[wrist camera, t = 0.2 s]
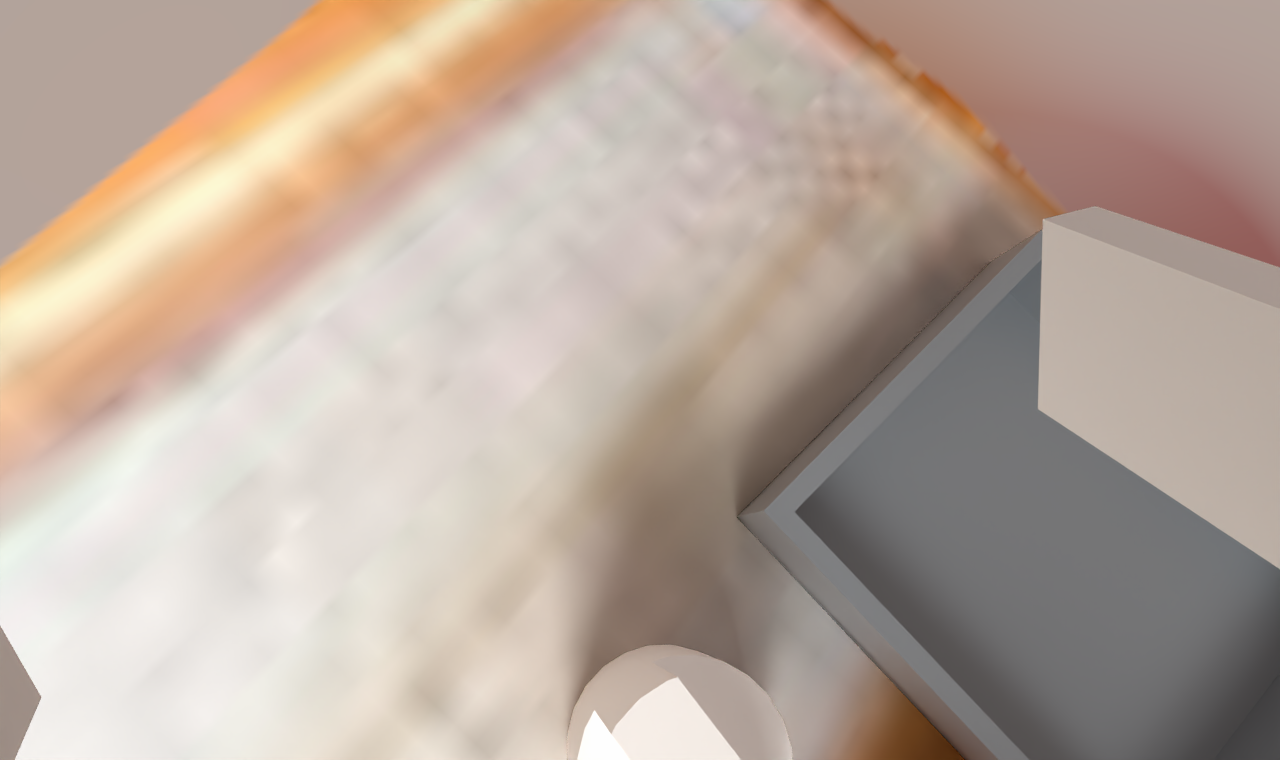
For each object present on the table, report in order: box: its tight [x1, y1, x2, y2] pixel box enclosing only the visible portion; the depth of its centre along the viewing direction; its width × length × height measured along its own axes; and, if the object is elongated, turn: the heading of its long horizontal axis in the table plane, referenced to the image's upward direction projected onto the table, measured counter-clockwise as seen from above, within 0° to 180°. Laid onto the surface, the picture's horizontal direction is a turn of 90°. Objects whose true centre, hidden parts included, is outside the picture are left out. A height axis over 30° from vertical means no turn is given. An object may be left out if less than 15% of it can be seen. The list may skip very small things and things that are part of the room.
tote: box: [737, 230, 1280, 760], centre depth 47 cm, size 26×20×5 cm
